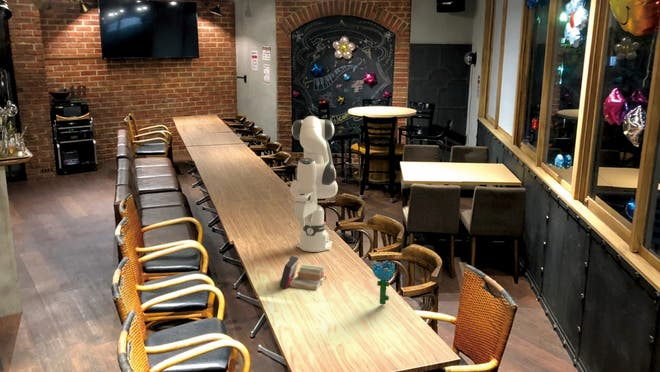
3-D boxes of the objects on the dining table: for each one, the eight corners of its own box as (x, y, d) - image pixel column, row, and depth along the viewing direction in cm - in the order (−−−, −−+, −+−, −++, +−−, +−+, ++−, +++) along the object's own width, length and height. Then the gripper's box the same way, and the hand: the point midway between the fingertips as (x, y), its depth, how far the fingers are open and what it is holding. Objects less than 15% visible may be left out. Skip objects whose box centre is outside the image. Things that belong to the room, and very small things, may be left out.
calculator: (292, 267, 269) (300, 258, 284) (283, 265, 270) (291, 255, 284) (286, 289, 272) (294, 278, 286) (277, 286, 272) (286, 276, 287)
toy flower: (368, 302, 258) (369, 262, 254) (384, 298, 263) (385, 259, 259) (380, 309, 250) (382, 268, 247) (397, 305, 255) (398, 264, 252)
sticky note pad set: (301, 276, 289) (301, 262, 288) (326, 279, 285) (326, 265, 284) (289, 286, 275) (289, 272, 274) (316, 290, 271) (316, 275, 270)
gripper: (308, 189, 279) (307, 218, 282) (291, 198, 260) (291, 228, 263) (320, 190, 277) (320, 219, 280) (305, 199, 258) (305, 230, 261)
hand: (306, 224), depth 271 cm, fingers open, 8 cm apart
